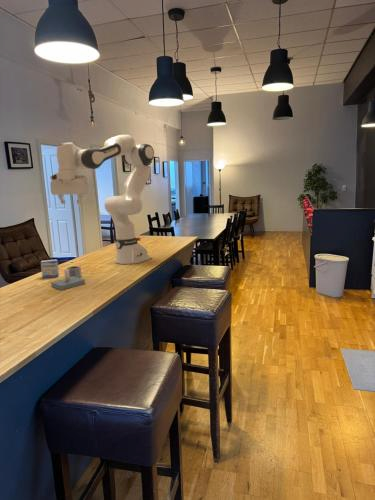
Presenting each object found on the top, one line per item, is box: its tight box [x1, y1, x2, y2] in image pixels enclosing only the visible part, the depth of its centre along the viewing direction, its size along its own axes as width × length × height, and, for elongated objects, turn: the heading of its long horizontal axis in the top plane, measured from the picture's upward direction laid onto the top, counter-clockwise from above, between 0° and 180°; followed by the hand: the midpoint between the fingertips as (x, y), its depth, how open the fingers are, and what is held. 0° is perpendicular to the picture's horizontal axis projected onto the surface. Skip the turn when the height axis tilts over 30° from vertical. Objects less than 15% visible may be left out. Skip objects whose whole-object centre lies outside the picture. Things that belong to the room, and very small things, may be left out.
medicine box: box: [40, 258, 60, 279], centre depth 183 cm, size 8×4×9 cm, turn 105°
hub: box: [66, 265, 83, 278], centre depth 180 cm, size 6×6×5 cm
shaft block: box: [50, 268, 86, 291], centre depth 167 cm, size 12×10×8 cm
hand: (71, 203), depth 178 cm, fingers open, 8 cm apart
